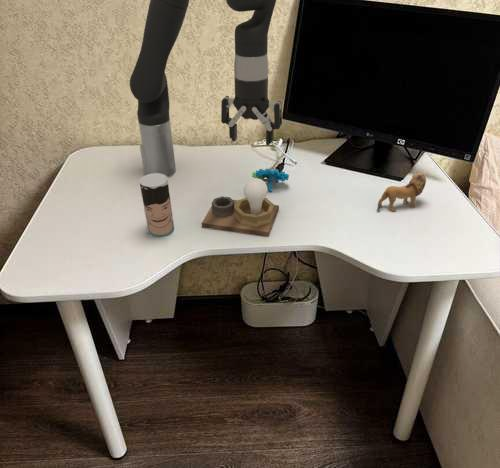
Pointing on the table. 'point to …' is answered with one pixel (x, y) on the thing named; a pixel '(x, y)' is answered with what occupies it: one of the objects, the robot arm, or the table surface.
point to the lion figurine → (404, 191)
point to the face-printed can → (157, 204)
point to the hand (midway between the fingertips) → (251, 141)
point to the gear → (270, 176)
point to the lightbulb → (255, 194)
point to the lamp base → (236, 224)
